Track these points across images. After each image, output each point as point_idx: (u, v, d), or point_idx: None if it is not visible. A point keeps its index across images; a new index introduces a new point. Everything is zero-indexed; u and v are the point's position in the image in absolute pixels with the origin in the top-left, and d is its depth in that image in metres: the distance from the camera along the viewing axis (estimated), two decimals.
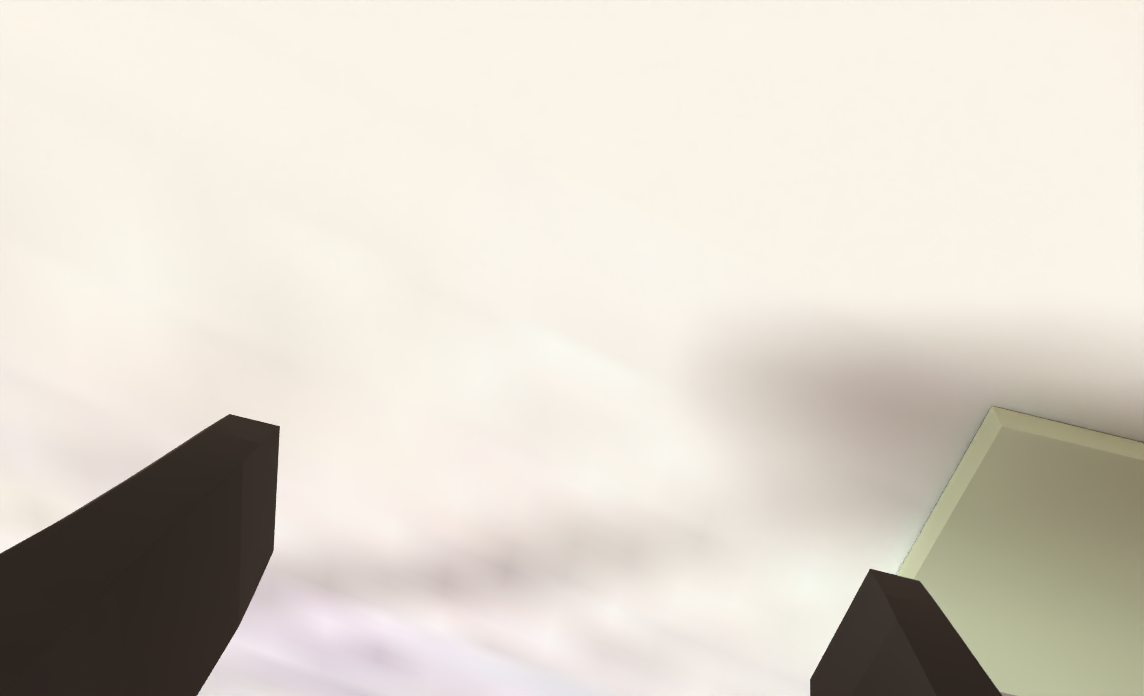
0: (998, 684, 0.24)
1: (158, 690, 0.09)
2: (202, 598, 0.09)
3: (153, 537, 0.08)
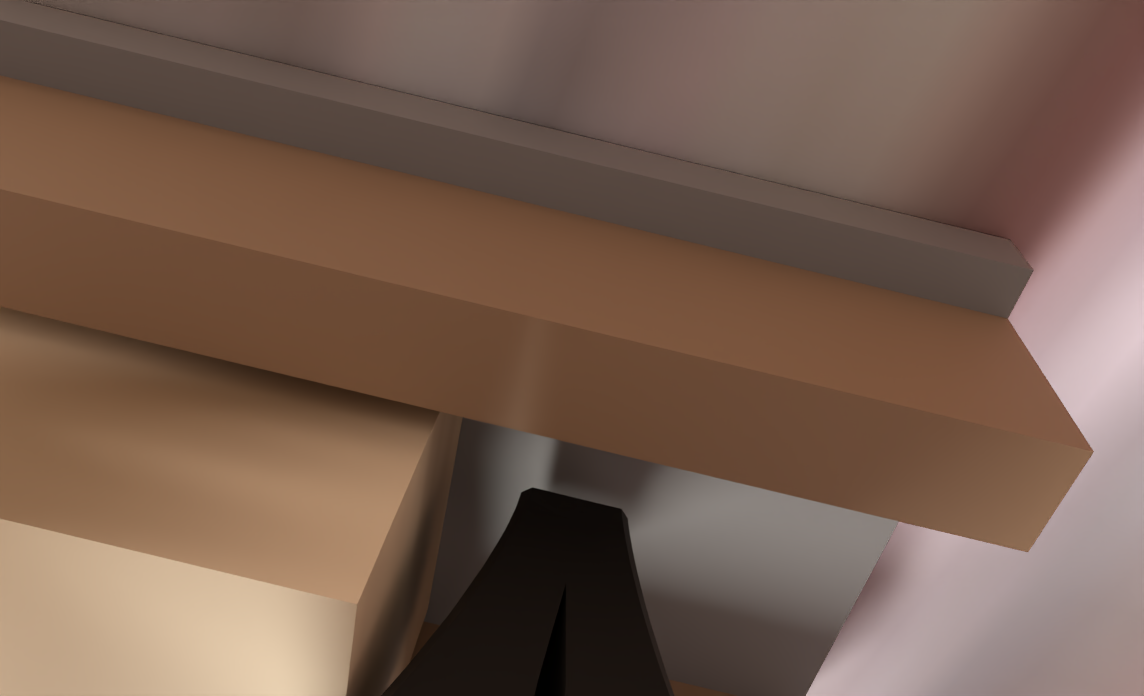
0: None
1: None
2: (537, 678, 0.09)
3: (544, 631, 0.08)
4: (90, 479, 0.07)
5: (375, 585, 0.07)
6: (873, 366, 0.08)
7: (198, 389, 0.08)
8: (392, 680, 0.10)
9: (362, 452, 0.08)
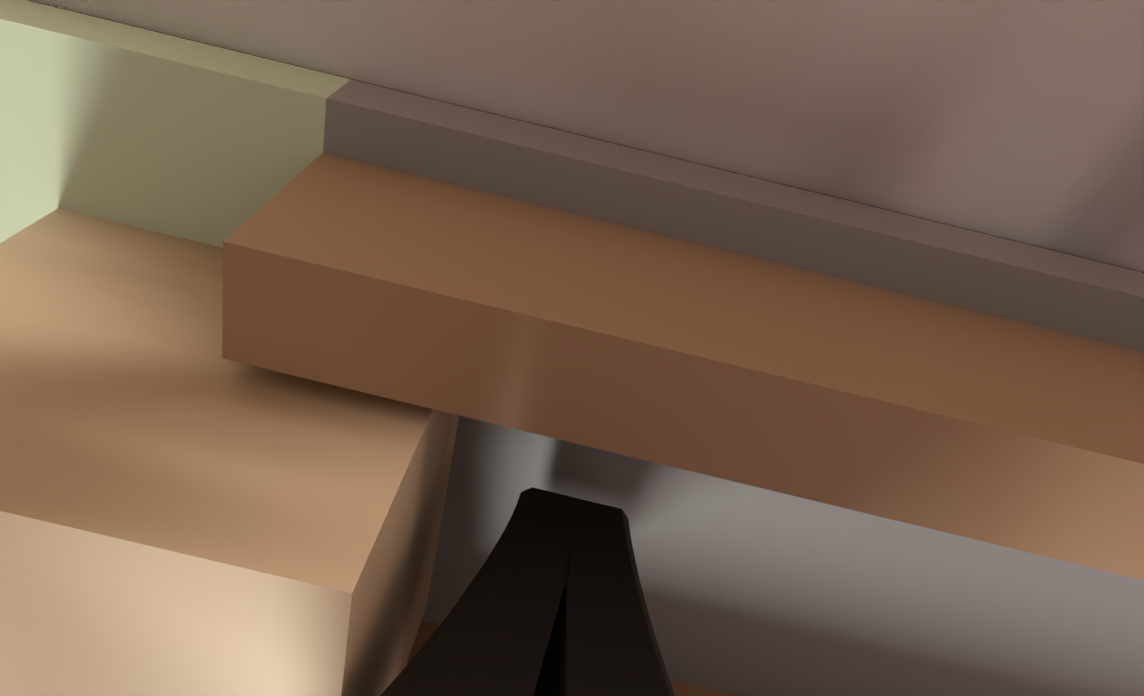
0: None
1: None
2: None
3: (543, 630, 0.08)
4: (84, 470, 0.07)
5: (371, 575, 0.07)
6: None
7: (193, 381, 0.08)
8: (391, 674, 0.10)
9: (359, 443, 0.08)
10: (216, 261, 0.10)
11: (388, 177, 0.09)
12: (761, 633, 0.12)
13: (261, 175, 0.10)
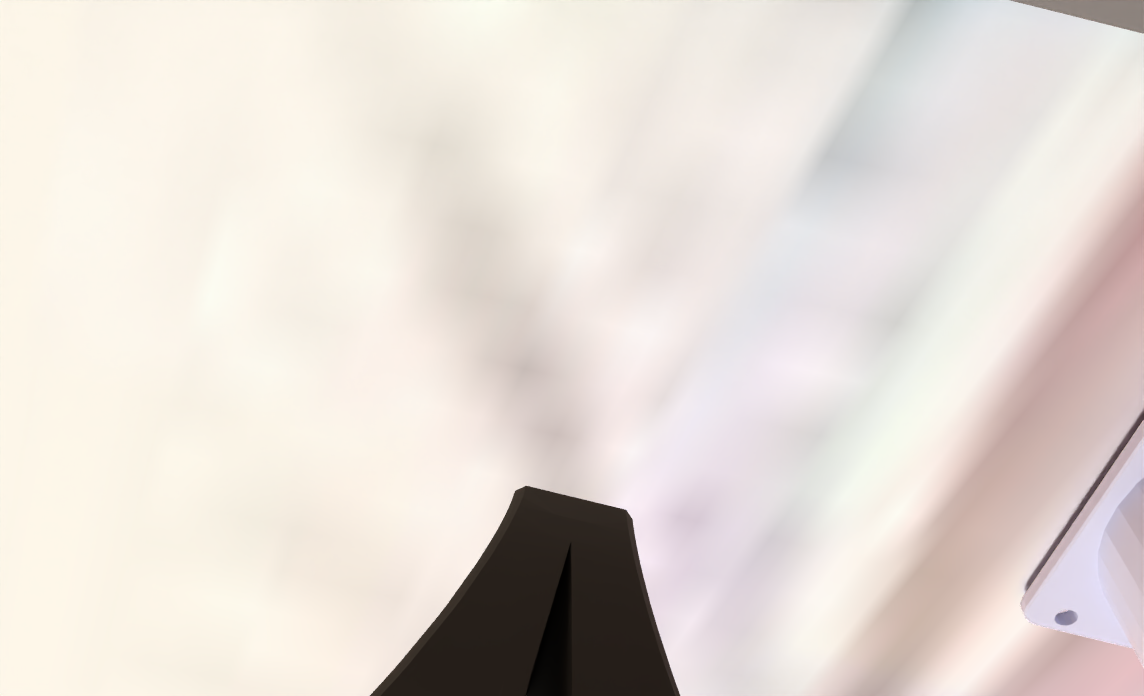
0: None
1: None
2: (531, 677, 0.09)
3: (536, 629, 0.08)
4: None
5: None
6: None
7: None
8: None
9: None
10: None
11: None
12: None
13: None
